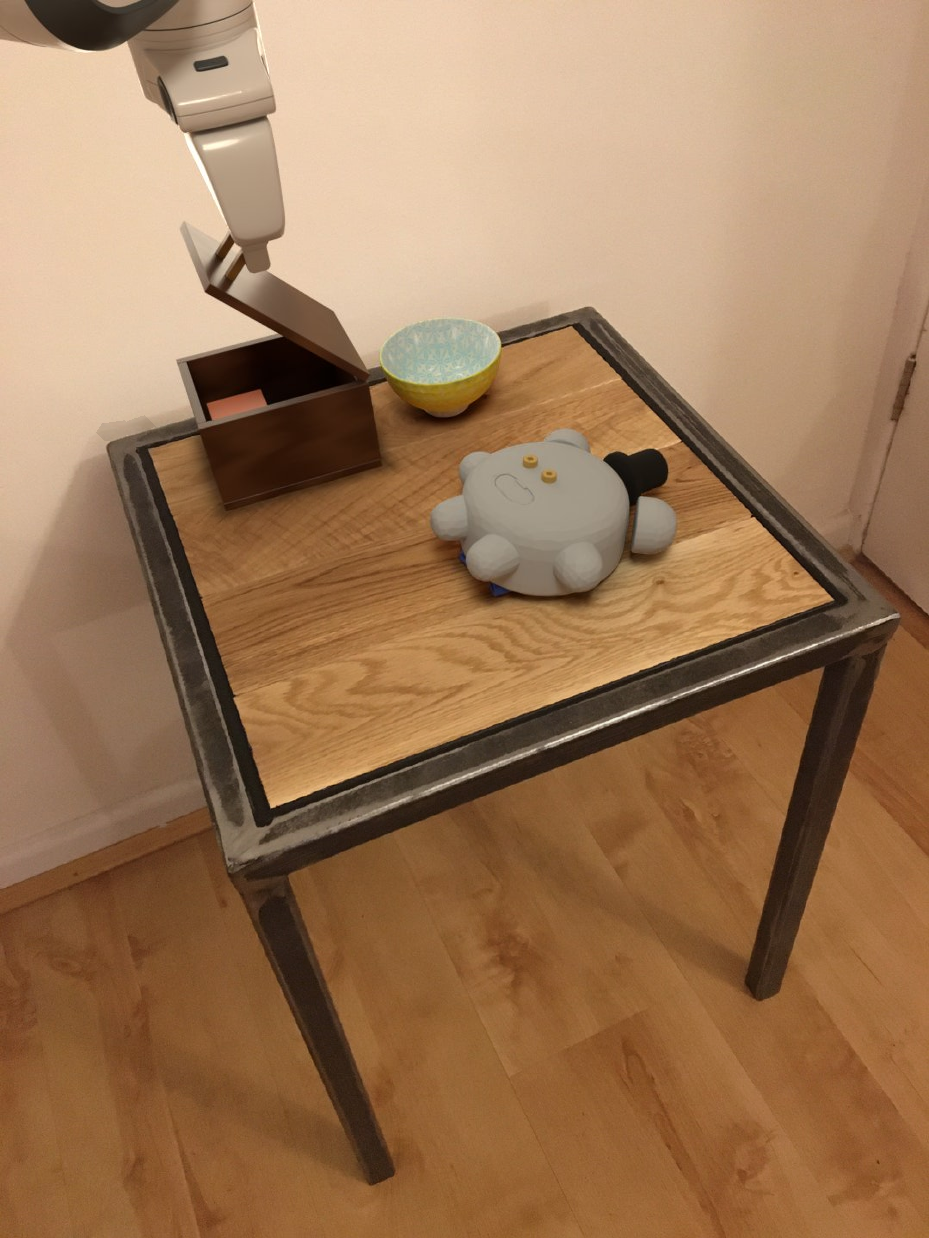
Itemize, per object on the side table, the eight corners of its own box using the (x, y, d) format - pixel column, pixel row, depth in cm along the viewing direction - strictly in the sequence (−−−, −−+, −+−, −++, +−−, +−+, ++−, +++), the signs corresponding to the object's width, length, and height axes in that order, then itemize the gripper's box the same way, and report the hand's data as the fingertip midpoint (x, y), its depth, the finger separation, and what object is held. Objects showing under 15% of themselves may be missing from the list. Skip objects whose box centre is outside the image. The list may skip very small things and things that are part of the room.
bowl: (364, 403, 94) (354, 347, 90) (457, 358, 98) (452, 303, 94) (432, 456, 88) (425, 399, 83) (528, 405, 92) (526, 348, 87)
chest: (225, 511, 84) (198, 429, 78) (202, 439, 92) (175, 359, 86) (382, 465, 87) (368, 383, 81) (347, 399, 95) (332, 319, 88)
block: (231, 478, 86) (216, 433, 83) (220, 448, 90) (206, 403, 86) (284, 463, 87) (272, 418, 84) (272, 433, 90) (260, 388, 87)
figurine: (511, 658, 70) (716, 568, 78) (518, 571, 64) (739, 482, 72) (397, 529, 81) (588, 461, 88) (394, 444, 75) (599, 379, 82)
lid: (204, 292, 70) (244, 228, 68) (178, 228, 78) (214, 169, 76) (365, 382, 81) (404, 329, 79) (328, 318, 88) (364, 268, 86)
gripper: (133, 25, 71) (188, 208, 82) (178, 116, 58) (236, 320, 68) (216, 8, 73) (259, 191, 83) (278, 93, 59) (321, 298, 69)
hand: (249, 250), depth 75 cm, fingers closed on lid, 5 cm apart
